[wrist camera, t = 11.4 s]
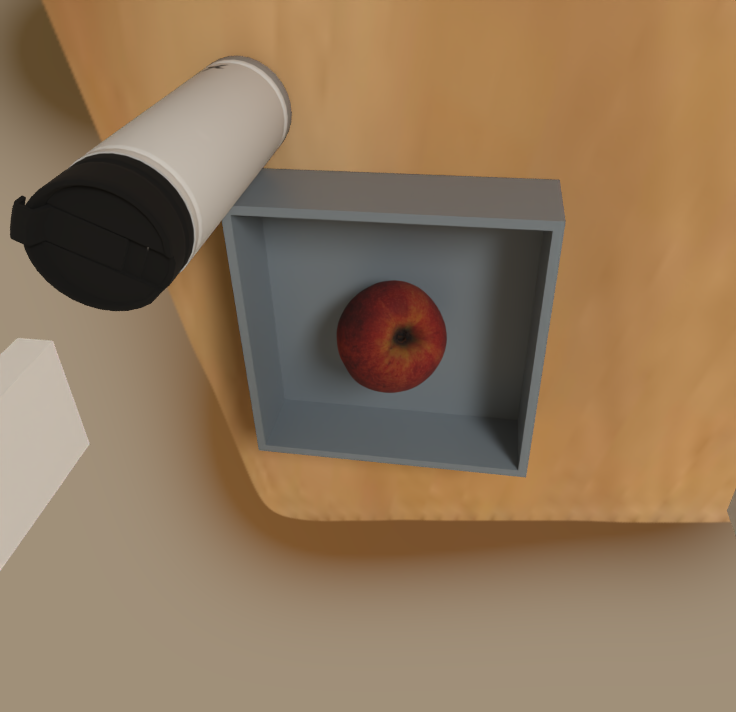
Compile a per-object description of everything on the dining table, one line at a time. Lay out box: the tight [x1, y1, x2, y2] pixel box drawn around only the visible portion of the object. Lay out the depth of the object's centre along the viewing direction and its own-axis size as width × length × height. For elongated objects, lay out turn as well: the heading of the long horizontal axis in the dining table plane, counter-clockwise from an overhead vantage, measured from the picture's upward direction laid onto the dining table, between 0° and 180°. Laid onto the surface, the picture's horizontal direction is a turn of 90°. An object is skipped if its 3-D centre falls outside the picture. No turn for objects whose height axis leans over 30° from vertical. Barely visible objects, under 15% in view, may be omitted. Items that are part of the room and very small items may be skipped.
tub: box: [222, 168, 565, 477], centre depth 48 cm, size 20×20×6 cm
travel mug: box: [10, 56, 292, 311], centre depth 36 cm, size 6×7×20 cm
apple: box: [337, 280, 447, 393], centre depth 47 cm, size 7×8×8 cm
